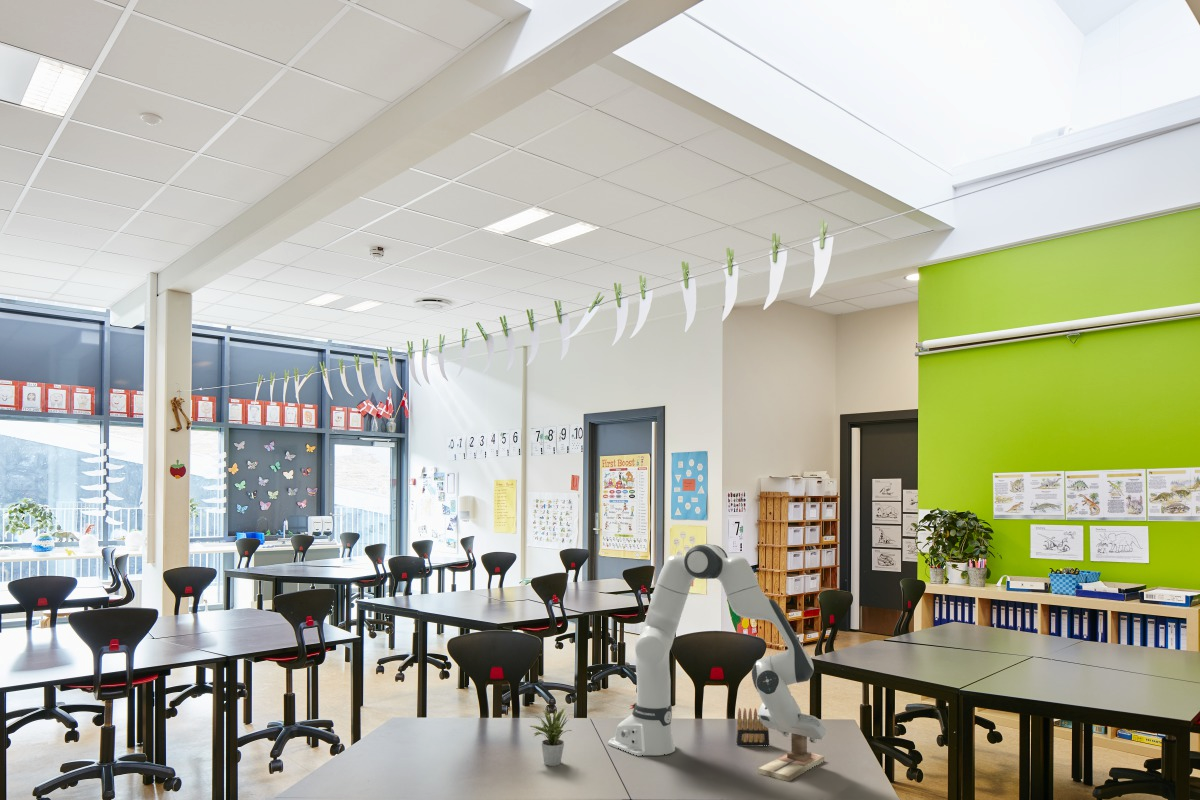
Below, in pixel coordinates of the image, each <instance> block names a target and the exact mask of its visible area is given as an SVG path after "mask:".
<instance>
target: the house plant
mask: <svg viewBox="0 0 1200 800" xmlns="http://www.w3.org/2000/svg"><path fill="white" fill-rule="evenodd" d="M540 710H541V711H542V712H543V713H544V716H545V719H546V721H547V722H545V721H544V719H543V718H541V717H540V716H537V715H533V714H531V716H532V717H535V718H537V719H539V720H540V721H541V724H542V726H543V727H541V726H537V725H529V727H530V728H533V729H532V730H534V731H537V732H534V733H533V735H534V737H536V736H539V735H543V736H544V737H545V739H544V740H542V741H541V752H542V757H543V764H544V765H545V766H550V767H555V766H560V765H561V764H562V757H563V752H564V748H565V747H564V746H565V741H564V739H563V740H562V739H560V738H561V736H562V735H563V734H564V733H566V732H573V730H572V729H568V730H565V731H564V730H562V729H563V728H564V726H565V725H566V723H567V722H568V721H569V719H567V718H568V715H569V714H567V715H566V712H565V710H566V707H564V708H562V709H561V710H560V711H558V713H557V710H554V713H553V717H551V715H550V714H549V713H548V712H547V711H545V710H544V709H543V708H540ZM563 713H564V714H563ZM540 731H541V732H540Z"/></svg>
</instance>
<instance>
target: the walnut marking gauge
mask: <svg viewBox="0 0 1200 800" xmlns="http://www.w3.org/2000/svg"><path fill="white" fill-rule="evenodd" d="M790 734H791V736H790V737H791V743H790V744H791V750H790V751H788V752H786V754H787V758H790V759H794V760H798V761H802V762H804V761H806V760H808V759H809V758H811V753H812V752H811V751H808V737H806V736H802V735H797V734H793V733H790Z"/></svg>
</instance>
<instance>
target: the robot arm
mask: <svg viewBox="0 0 1200 800" xmlns="http://www.w3.org/2000/svg"><path fill="white" fill-rule="evenodd" d="M695 579H701V580H709V579H710V580H712V579H713V580H714V579H717V580H718V581H719V582H720V583H721V585H722V588H723V590H724V593H725V596H726V599H727V601H728V603H729V606H730V608H731V611H732V612H734V614H736V616H739V617H740V618H743V619H748V620H762V621H765V622H766V621H767V622H769V623H771V624H773V626H775V628H776V629H777V631H778V633H779V634H780V636H781V639H783V641H784V643H785V645H786V647H787V649H786V650H785V651H782V652H780V653H776V654H774V655H769V656H766V657H762V658H760V659H757V660H756V661H754V664H753V666H752V669H751V677H752V682H753V686H754V688H755V690H756V692H757V693H758V695H759V698H760V699H761V704H760V705H759V709H758V711H757V718H758V719H759V718H760V721H761V723H762V724H763V725H764V726H765V727H767V728H768V729H770V730H771V729H772V730H776V731H777V732H779V733H780V734H781V735H782V736H783V737H786V738H787V737H789V735H790V734H791V733H793V734H797V735H802V736H806V737H807V738H809V741H810V743H813V744H816V743H817V741H818V740H820V741H821V740H822V739H824V737H825V735H826V731H827V729H826V727H825V726H824V724H823V723H822V722H821V720H820V719H819V718H818V717H816V716H815V715H810V714H806V713H802V711H801V708H800V706H799V704H798V703H797V701H796V699H795V698H794V696H793V695H792V692H791V691H790V688H789V687H788V686H790V685H793V684H798V683H799V684H800V683H803V682H808V681H809V680H810V679H811V677H812V676H813V674H814V671H815V669H814V666H815V665H814V662H813V660H812V658H811V656H810V654H809V653H808V651H806V649H805V648H804V646H803V645H802V643H801V641H800V640H799V637H798V636H797V634H796V632H795V631H794V629H793V626H792V625H791V624H790V622H789V620H788V618H787V616H786V615H785V613H784V612H783V609H782V608H781V607H780V604H778V603H777V601H776V600H774V599H771V598H769V597H768V596H767V595H765V594H764V592H763V590H762V589H761V587H760V584H759V581H758V579H757V576H756V574H755V571H754V570H753V568H752V566H751V565H750V563H749V562H748V560H747V559H746V558H745V557H743V556H738V555H735V556H730V557H728V555H727V553H726V551H725V550H724V549H723V548H722V547H721V546H718V545H716V544H709V543H704V544H697V545H695V546H692V547H691V548H689V549H688V550H687V552H686V553H685V555H682V554H681V555H680V554H673V555H670V556H669V557H668V558H667V559H666V561H665V562H664V564H663V566H662V568H661V570H660V572H659V575H658V577H657V581H656V583H655V586H654V588H653V589H654V590H653V591H652V596H651V598H650V601H649V604H648V609H647V611H646V616H645V619H644V622H643V623H644V624H643V626H642V629H641V632H640V633H639V635H638V637H637V638H636V640H635V643H634V651H635V652H634V653H635V654H634V656H635V657H634V658H635V671H636V702H635V703H633V704H632V705H630V707H629V710H632V713H631V714H630V715H629V716H627V717H626V718H625V719H623V720H622V721H621V722H619V723H618V725H617V727H616V730H615V735H614V736H613V737H612V738H610V739H609V740H608V744H607V745H608V746H611V747H613V748H615V749H618V748H619V749H618V750H620V749H621V750H620V751H623V750H624V752H625V751H626V753H628V752H629V753H628V754H630V753H631V755H633V754H634V755H633V756H636V755H637V757H638V756H639V757H642V755H643V756H665V755H668V754H672V753H674V752H675V751H676V746H675V743H674V739H673V738H674V737H673V733H672V717H673V714H672V713H673V710H672V704H671V672H670V652H671V651H670V650H671V649H672V646H673V644H674V640H675V637H676V633H677V630H678V627H679V623H680V620H681V617H682V614H683V611H684V608H685V604H686V603H687V602H686V601H687V599H688V595H689V593H690V589H691V586H692V584H693V582H694V581H695ZM664 754H665V755H664Z"/></svg>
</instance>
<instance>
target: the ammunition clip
mask: <svg viewBox="0 0 1200 800" xmlns="http://www.w3.org/2000/svg"><path fill="white" fill-rule="evenodd" d="M742 714H743V715H742ZM769 732H770V731H769V728H767V727H765V726H764V725H763V724H762V723H761V721H760V718H759V717H758V711H757V708H756V707H755V708H754V711H753V712H752V708H751V707H750V708H749V709H748V715H747V708H746V707H744V708H743V712H742V710H741V708H740V707H739V708H738V710H737V720H736V743H737V744H736V746H737V745H763V746H762V747H769V746H770V733H769ZM764 745H765V746H764ZM766 745H767V746H766ZM768 745H769V746H768Z"/></svg>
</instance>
